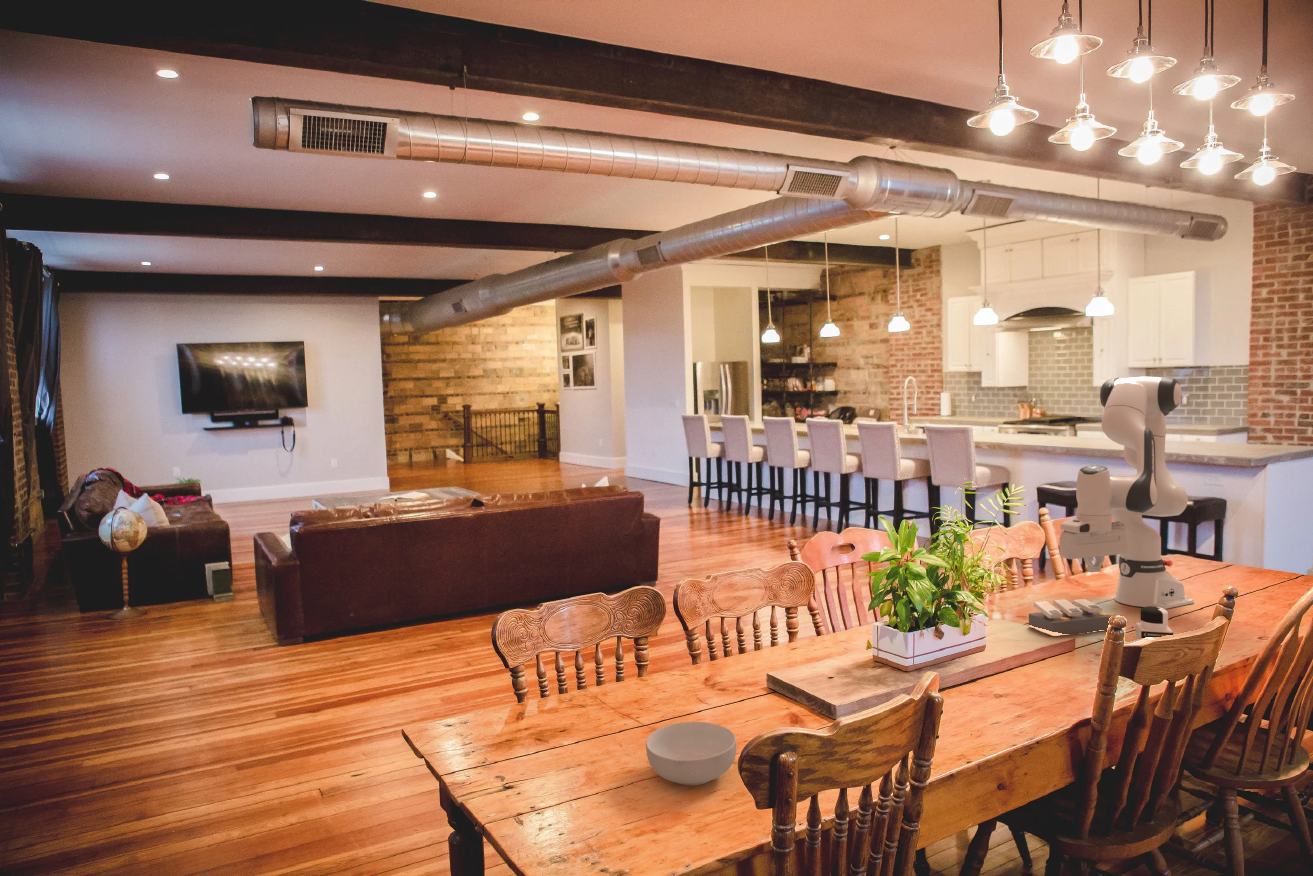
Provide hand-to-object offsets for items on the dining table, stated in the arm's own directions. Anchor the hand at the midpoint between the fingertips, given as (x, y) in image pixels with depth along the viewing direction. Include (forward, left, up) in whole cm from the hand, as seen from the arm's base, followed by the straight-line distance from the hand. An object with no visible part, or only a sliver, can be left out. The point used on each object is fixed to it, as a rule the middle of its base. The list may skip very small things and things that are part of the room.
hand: (1094, 571), depth 231 cm
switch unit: (+5, -3, -17) cm, 18 cm away
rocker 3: (0, -3, -11) cm, 11 cm away
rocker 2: (+6, -3, -11) cm, 13 cm away
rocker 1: (+13, -3, -11) cm, 17 cm away
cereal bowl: (+133, +52, -17) cm, 144 cm away
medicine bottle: (+1, +22, -17) cm, 28 cm away
